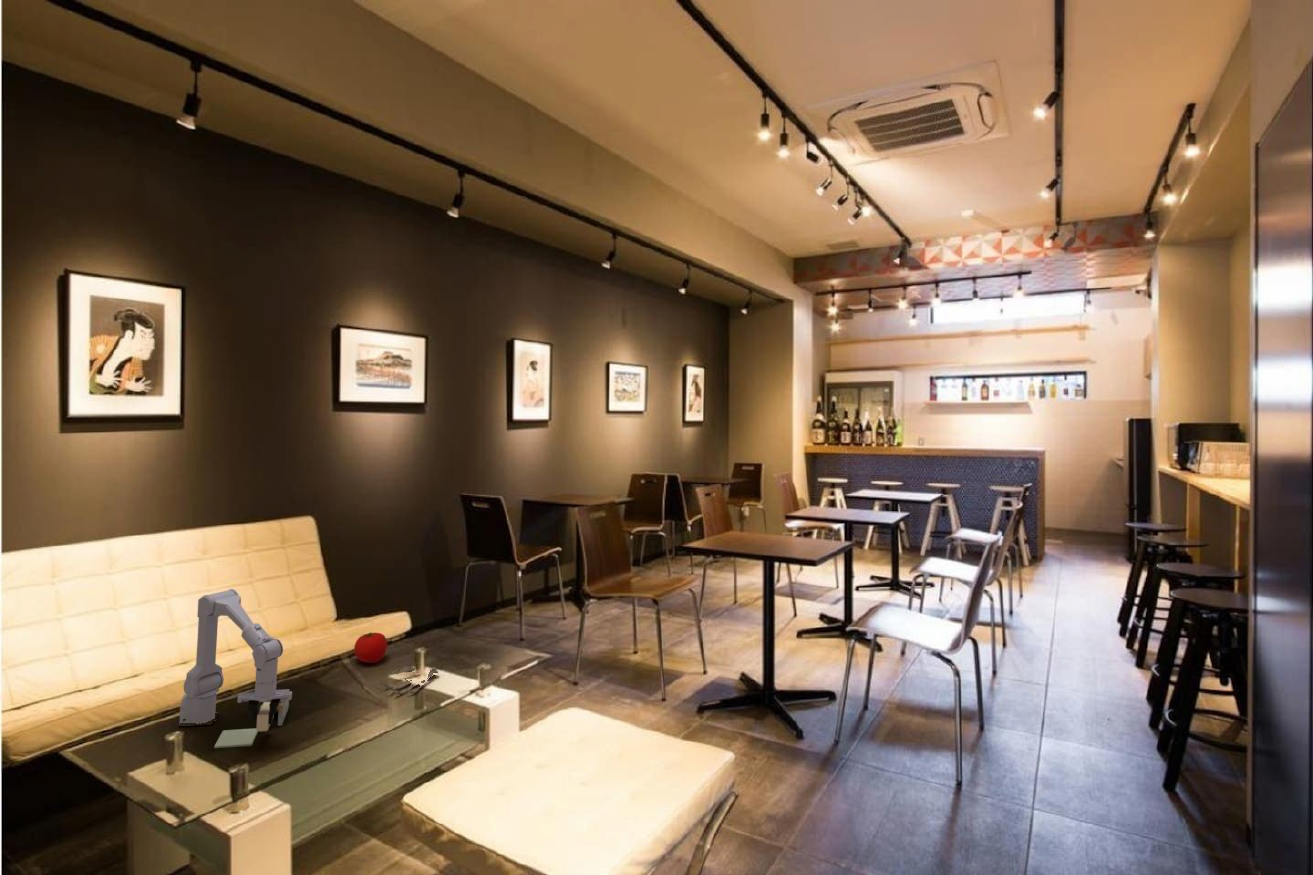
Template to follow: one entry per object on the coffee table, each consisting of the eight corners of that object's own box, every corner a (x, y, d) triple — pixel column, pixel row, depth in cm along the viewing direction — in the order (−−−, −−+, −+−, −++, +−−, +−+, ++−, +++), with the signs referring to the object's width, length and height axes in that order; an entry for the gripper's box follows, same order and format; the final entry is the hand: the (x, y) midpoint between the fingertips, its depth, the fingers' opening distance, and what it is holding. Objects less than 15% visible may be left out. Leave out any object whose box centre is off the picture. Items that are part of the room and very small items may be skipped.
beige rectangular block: (256, 731, 213) (257, 715, 213) (262, 717, 223) (263, 702, 223) (267, 730, 214) (268, 714, 214) (273, 717, 224) (274, 701, 224)
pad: (214, 748, 212) (214, 746, 212) (222, 732, 221) (223, 730, 221) (251, 745, 215) (251, 743, 215) (258, 729, 225) (258, 728, 225)
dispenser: (258, 727, 227) (260, 706, 226) (266, 709, 238) (267, 690, 238) (281, 725, 229) (282, 705, 228) (288, 708, 240) (289, 689, 240)
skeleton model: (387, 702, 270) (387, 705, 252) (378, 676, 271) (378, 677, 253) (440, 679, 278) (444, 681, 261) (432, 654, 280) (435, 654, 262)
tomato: (394, 659, 289) (396, 632, 288) (368, 670, 277) (370, 641, 276) (372, 652, 294) (374, 625, 294) (345, 662, 282) (347, 635, 281)
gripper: (236, 686, 209) (233, 730, 210) (290, 684, 214) (287, 727, 214) (241, 676, 216) (239, 719, 216) (294, 674, 220) (291, 716, 221)
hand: (263, 722), depth 216 cm, fingers closed on beige rectangular block, 3 cm apart
